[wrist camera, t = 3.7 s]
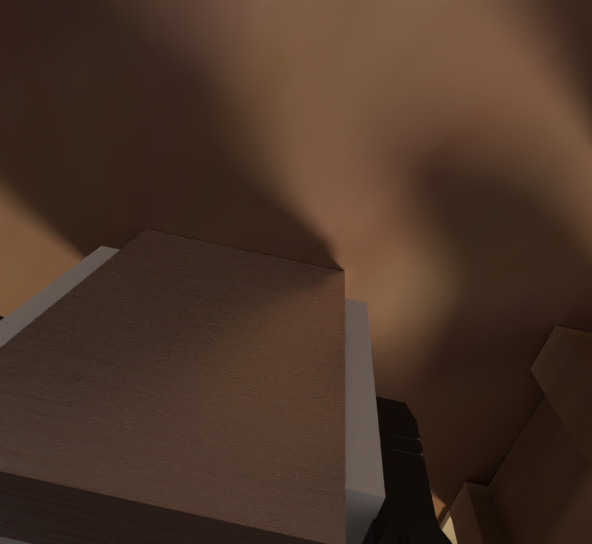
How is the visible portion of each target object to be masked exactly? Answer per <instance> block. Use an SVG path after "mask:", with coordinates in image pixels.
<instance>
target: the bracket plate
mask: <svg viewBox="0 0 592 544" xmlns="http://www.w3.org/2000/svg"><path fill="white" fill-rule="evenodd" d="M0 544H346V495H345V271H340V270H336V269H331V268H327V267H322V266H317V265H313V264H308V263H303V262H299V261H294V260H289V259H285V258H280V257H275V256H271V255H266V254H262V253H257V252H252V251H248V250H243V249H238V248H234V247H229V246H224V245H220V244H215V243H210V242H206V241H201V240H196V239H192V238H187V237H183V236H178V235H173V234H169V233H164V232H159V231H155V230H150V229H145V230H144V231H143V232H142V233H140V234H139V235H138V236H137V237H135V238H134V239H133V240H132V241H130V242H129V243H128V244H127V245H126V246H124V247H123V248H122V249H121V250H119V251H118V252H117V253H116V254H114V255H113V256H112V257H111V258H110V259H108V260H107V261H106V262H105V263H103V264H102V265H101V266H100V267H99V268H97V269H96V270H95V271H94V272H92V273H91V274H90V275H89V276H87V277H86V278H85V279H84V280H83V281H81V282H80V283H79V284H78V285H76V286H75V287H74V288H73V289H71V290H70V291H69V292H68V293H67V294H65V295H64V296H63V297H62V298H60V299H59V300H58V301H57V302H56V303H54V304H53V305H52V306H51V307H49V308H48V309H47V310H46V311H44V312H43V313H42V314H41V315H40V316H38V317H37V318H36V319H35V320H33V321H32V322H31V323H30V324H29V325H27V326H26V327H25V328H24V329H22V330H21V331H20V332H19V333H17V334H16V335H15V336H14V337H13V338H11V339H10V340H9V341H8V342H6V343H5V344H4V345H3V346H1V347H0Z"/></svg>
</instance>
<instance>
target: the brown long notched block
mask: <svg viewBox="0 0 592 544" xmlns="http://www.w3.org/2000/svg"><path fill="white" fill-rule="evenodd" d="M530 370H531V372H532V374H533V375H534V377H535V379H536V380H537V382H538V383H539V385H540V387H541V388H542V390H543V392H544V393H545V395H544V397H543V398H542V400H541V401H540V403H539V405H538V406H537V408H536V409H535V411H534V413H533V414H532V416H531V417H530V419H529V421H528V422H527V424H526V426H525V427H524V429H523V430H522V432H521V434H520V435H519V437H518V438H517V440H516V442H515V443H514V445H513V446H512V448H511V450H510V451H509V453H508V454H507V456H506V458H505V459H504V461H503V462H502V464H501V466H500V467H499V469H498V470H497V472H496V474H495V475H494V477H493V478H492V480H491V482H490V483H489V485H488V486H484V485H480V484H475V483H471V482H466V481H465V483H464V484H463V486H462V488H461V489H460V491H459V493H458V495H457V496H456V498H455V500H454V502H453V503H452V505H451V507H450V508H449V511H448V512H447V514H446V515H445V517H444V519H443V521H442V522H441V524H440V526H439V527H440V528H441V529H442V531H443V532H444V533H445V534H446V536H447V537H448V538H449V539H450V541H451V542H452V544H592V333H589V332H585V331H580V330H575V329H571V328H566V327H562V326H557V325H555V327H554V329H553V331H552V332H551V334H550V336H549V337H548V339H547V341H546V343H545V344H544V346H543V348H542V350H541V351H540V353H539V355H538V356H537V358H536V360H535V362H534V363H533V365H532V367H531V369H530Z"/></svg>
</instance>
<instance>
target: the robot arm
mask: <svg viewBox="0 0 592 544" xmlns="http://www.w3.org/2000/svg"><path fill="white" fill-rule="evenodd" d="M118 251H119V249H115V248H110V247H105V246H101V247H99V248H98V249H97V250H95V251H94V252H93V253H91V254H90V255H88V256H87V257H86V258H84V259H83V260H82V261H80V262H79V263H78V264H76V265H75V266H74V267H72V268H71V269H69V270H68V271H67V272H65V273H64V274H63V275H61V276H60V277H59V278H57V279H56V280H55V281H53V282H52V283H50V284H49V285H48V286H46V287H45V288H44V289H42V290H41V291H40V292H38V293H37V294H36V295H34V296H33V297H31V298H30V299H29V300H27V301H26V302H25V303H23V304H22V305H21V306H19V307H18V308H17V309H15V310H14V311H12V312H11V313H10V314H8V315H7V316H6V317H2V316H0V347H1V346H3V345H4V344H5V343H6V342H8V341H9V340H10V339H11V338H13V337H14V336H15V335H16V334H17V333H19V332H20V331H21V330H22V329H24V328H25V327H26V326H27V325H29V324H30V323H31V322H32V321H33V320H35V319H36V318H37V317H38V316H40V315H41V314H42V313H43V312H44V311H46V310H47V309H48V308H49V307H51V306H52V305H53V304H54V303H56V302H57V301H58V300H59V299H60V298H62V297H63V296H64V295H65V294H67V293H68V292H69V291H70V290H71V289H73V288H74V287H75V286H76V285H78V284H79V283H80V282H81V281H83V280H84V279H85V278H86V277H87V276H89V275H90V274H91V273H92V272H94V271H95V270H96V269H97V268H99V267H100V266H101V265H102V264H103V263H105V262H106V261H107V260H108V259H110V258H111V257H112V256H113V255H114V254H116V253H117V252H118ZM345 495H346V544H452V542H451V541H450V539H449V538H448V537H447V536H446V534H445V533H444V532H443V531H442V529H441V528H440V527H439V525H438V522H437V519H436V515H435V510H434V505H433V500H432V495H431V490H430V486H429V481H428V476H427V471H426V466H425V461H424V458H423V451H422V446H421V442H420V436H419V432H418V427H417V422H416V419H415V418H414V416H413V415H412V413H411V412H410V410H409V408H408V407H407V405H406V404H405V403H403V402H398V401H393V400H389V399H384V398H380V397H376V394H375V384H374V373H373V363H372V352H371V342H370V331H369V321H368V311H367V303H365V302H360V301H355V300H351V299H346V298H345Z"/></svg>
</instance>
